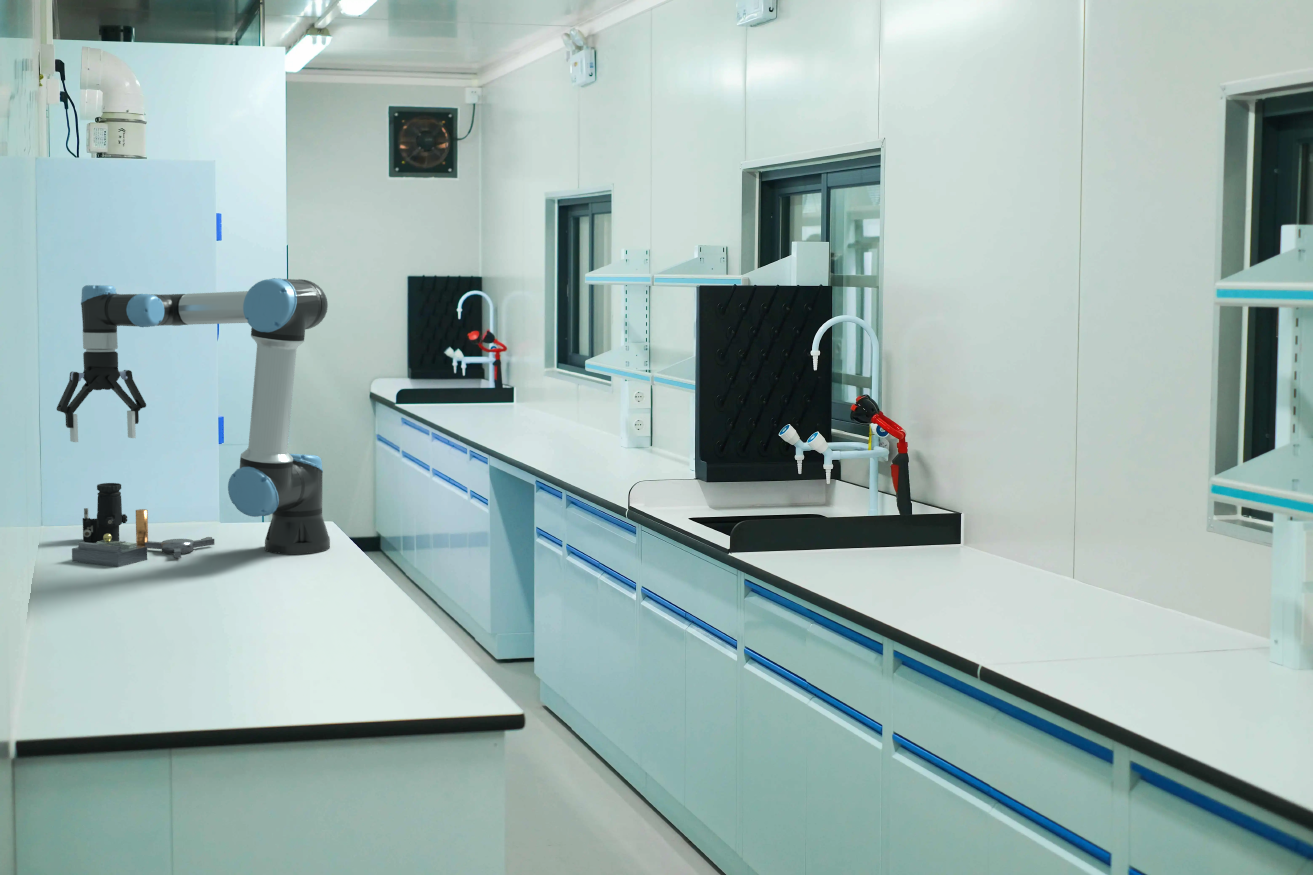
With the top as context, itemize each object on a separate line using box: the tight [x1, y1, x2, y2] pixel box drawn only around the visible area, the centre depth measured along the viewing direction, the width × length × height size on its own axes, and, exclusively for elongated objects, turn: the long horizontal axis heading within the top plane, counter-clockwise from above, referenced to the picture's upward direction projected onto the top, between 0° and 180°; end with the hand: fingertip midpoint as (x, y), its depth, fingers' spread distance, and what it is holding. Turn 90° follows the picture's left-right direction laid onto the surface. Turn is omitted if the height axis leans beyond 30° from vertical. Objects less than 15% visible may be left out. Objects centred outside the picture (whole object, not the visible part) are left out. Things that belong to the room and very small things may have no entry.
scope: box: [82, 482, 128, 543], centre depth 311 cm, size 8×14×10 cm
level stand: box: [71, 534, 148, 568], centre depth 290 cm, size 13×9×6 cm
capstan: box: [135, 508, 215, 559], centre depth 301 cm, size 16×17×9 cm
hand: (103, 439), depth 305 cm, fingers open, 13 cm apart
